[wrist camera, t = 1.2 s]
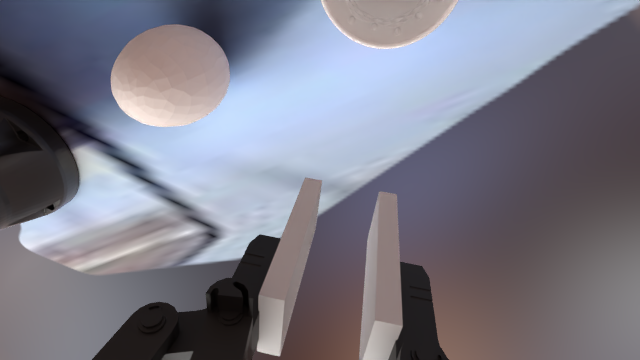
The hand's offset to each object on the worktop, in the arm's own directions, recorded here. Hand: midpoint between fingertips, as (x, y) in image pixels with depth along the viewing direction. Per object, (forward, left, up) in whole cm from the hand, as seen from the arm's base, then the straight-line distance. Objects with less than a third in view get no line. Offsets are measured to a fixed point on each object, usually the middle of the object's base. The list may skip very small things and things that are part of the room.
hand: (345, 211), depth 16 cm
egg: (-15, 0, -19) cm, 24 cm away
